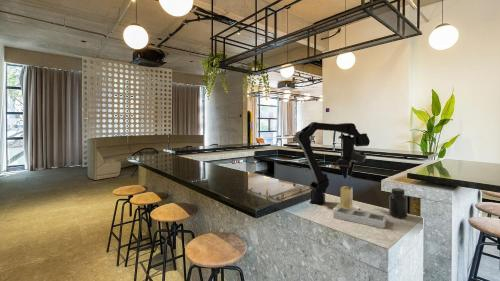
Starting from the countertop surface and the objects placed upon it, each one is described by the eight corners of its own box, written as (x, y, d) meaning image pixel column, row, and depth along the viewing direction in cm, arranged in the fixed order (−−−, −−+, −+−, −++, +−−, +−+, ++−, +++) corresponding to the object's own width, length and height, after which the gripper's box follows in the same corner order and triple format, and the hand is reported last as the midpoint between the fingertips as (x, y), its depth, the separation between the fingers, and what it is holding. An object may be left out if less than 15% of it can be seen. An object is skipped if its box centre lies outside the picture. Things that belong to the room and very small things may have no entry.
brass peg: (340, 208, 117) (340, 188, 116) (343, 205, 121) (343, 186, 120) (349, 210, 115) (350, 189, 114) (352, 207, 118) (352, 187, 117)
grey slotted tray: (333, 217, 108) (333, 212, 108) (338, 211, 115) (338, 206, 114) (384, 228, 96) (384, 222, 96) (387, 221, 103) (387, 215, 102)
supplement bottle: (400, 212, 112) (400, 187, 111) (410, 218, 105) (411, 191, 104) (385, 213, 111) (386, 187, 110) (394, 219, 105) (395, 192, 104)
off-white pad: (333, 209, 117) (333, 208, 117) (338, 204, 124) (338, 203, 124) (355, 214, 111) (355, 213, 111) (359, 208, 118) (359, 207, 118)
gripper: (360, 149, 115) (359, 182, 116) (368, 145, 130) (368, 174, 131) (336, 148, 122) (336, 179, 123) (347, 145, 137) (347, 172, 138)
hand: (348, 176), depth 129 cm, fingers open, 9 cm apart
